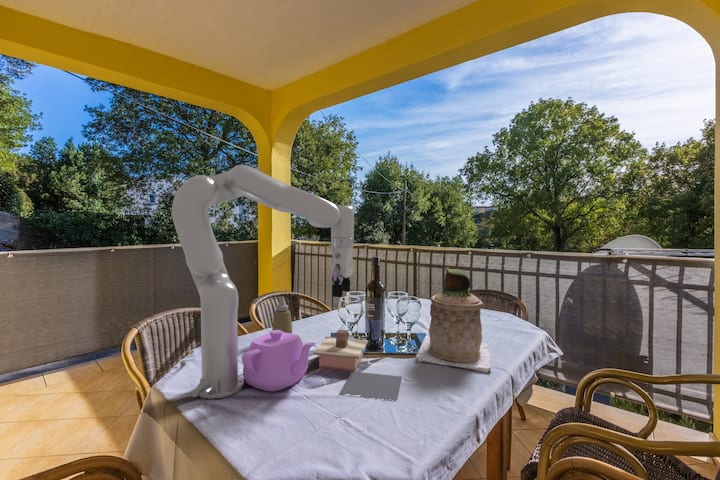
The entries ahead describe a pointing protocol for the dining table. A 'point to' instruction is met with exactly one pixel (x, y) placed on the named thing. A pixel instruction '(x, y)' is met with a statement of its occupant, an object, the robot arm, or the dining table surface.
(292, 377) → the teapot
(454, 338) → the cookie jar
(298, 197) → the robot arm
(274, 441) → the dining table surface
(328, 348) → the lid
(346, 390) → the mat
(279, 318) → the squeeze bottle
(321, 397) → the dining table surface
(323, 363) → the dish
